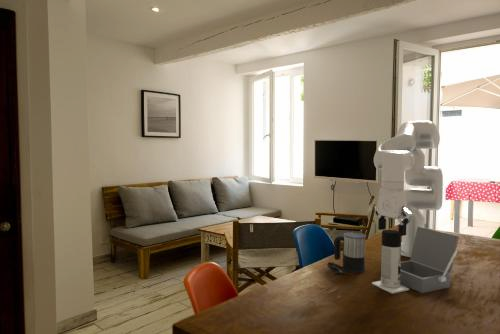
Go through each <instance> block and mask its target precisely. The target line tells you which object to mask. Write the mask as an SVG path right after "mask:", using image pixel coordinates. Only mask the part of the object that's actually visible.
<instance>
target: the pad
mask: <svg viewBox="0 0 500 334" xmlns="http://www.w3.org/2000/svg"><path fill="white" fill-rule="evenodd" d="M371 284H372V285H373V286H375V287H377V288H379V289H381V290H384V291H385V292H388V293H390V294H397V293H400V292H401V293H402V292H406V291H410V288H409V287H407V286H404V285H402V284H400V286H399V287H398V288H388V287H385V286H383V285H382V284H381V280H377V281H373V282H371Z"/></svg>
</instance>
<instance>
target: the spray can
mask: <svg viewBox="0 0 500 334" xmlns="http://www.w3.org/2000/svg"><path fill="white" fill-rule="evenodd" d="M401 242H402V236H399V235H398V230H397V229H383V230H381V252H380V255H381V258H380V261H381V262H380V263H381V264H380V281H381V284H382V285H383V286H385V287H388V288H398V287H399V286H400V285H401V284H400V267H401V262H402V260H401V259H402V257H401V256H402V255H401Z"/></svg>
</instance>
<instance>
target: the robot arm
mask: <svg viewBox="0 0 500 334" xmlns="http://www.w3.org/2000/svg"><path fill="white" fill-rule="evenodd" d="M440 140H441V137H440V132H439V130H438V127H437V125H436V123H434V122H433V121H431V120H410V121H405V122H403V123H401V125H400V126H399V128H398V130H397V133H396V135H395V136H393V137H391V138H389V139H387V140H385V141H382V142H381V143H380V144H379V145H378V147H377V148H376V150H375V153H374V156H373V164H374V167H375V168H376V169H378V170H381V182H380V184H381V188H380V189H379V192H378V198H377V199H378V200H377V204H376V205H374V206H373V207H374V213H375V215H376V216H377V220H378V224H377V225H378V228H377V229H378V230H379V231H383V230H387V218H389V219H392V220H393V219H394V220H396V219H397V222H398V223H399V224H398V228H397V229H398V230H397V231H398V235H399V236H401V256H403V257H405V258H411V254H412V249H413V245H414V240H415V236H416V231H417V227H421V228H425V216H424V215H423V213H422V212H421V211H420V210H423V211H424V210H425V211H439V210H441V208H442V205H443V193H444V192H443V189H444V188H443V186H444V184H443V183H444V181H443V180H444V179H443V176H444V174H443V171H442V168H440V167H438V166H434V165H433V166H432V165H431V166H430V165H429V166H428V165H427V166H426V161H425V160H426V154H425V153H424V151H423V150H425V149H431V150H432V149H433V150H434V149H436V148H437V147H439V144H440ZM405 184H407V185H408V186H410V187H411V186H413V187H427V188H426V189H425V188H407V189H406V188H405ZM428 188H430V189H428Z"/></svg>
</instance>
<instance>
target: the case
mask: <svg viewBox="0 0 500 334" xmlns="http://www.w3.org/2000/svg"><path fill="white" fill-rule="evenodd" d="M459 238H460V237H459V236H457V235H454V234H450V233H446V232H442V231H439V230H438V231H437V230H432V229H429V228H425V227H424V228H421V227H417V231H416V236H415V240H414V245H413V249H412V254H411V257H409V258H410V259H409V260H403V261H401V267H400V285H402V286H404V287H407V288H409V289H411V290H414V291H416V292H417V293H420V294H425V293H430V292H434V291H435V292H436V291H438V290H445V289H449V288H450V287H451V286H450V285H451V276H452V270H453V266H454V261H455V258H456V255H457V253H458V250H457V248H458V243H459Z"/></svg>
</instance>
